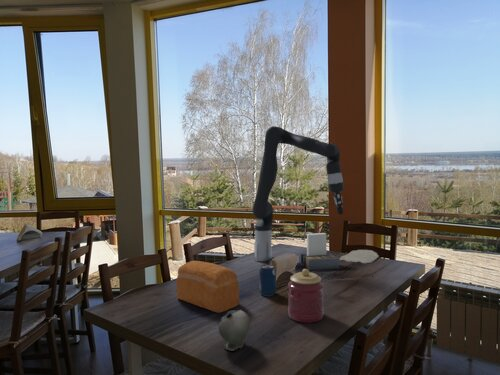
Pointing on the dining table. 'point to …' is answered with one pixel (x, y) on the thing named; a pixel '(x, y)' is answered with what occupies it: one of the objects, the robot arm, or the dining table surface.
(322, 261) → the metal rack
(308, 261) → the offcut block left
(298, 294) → the canister
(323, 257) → the offcut block right
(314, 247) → the cream board
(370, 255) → the stone tablet
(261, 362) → the dining table surface
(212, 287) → the bread
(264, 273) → the soda can
